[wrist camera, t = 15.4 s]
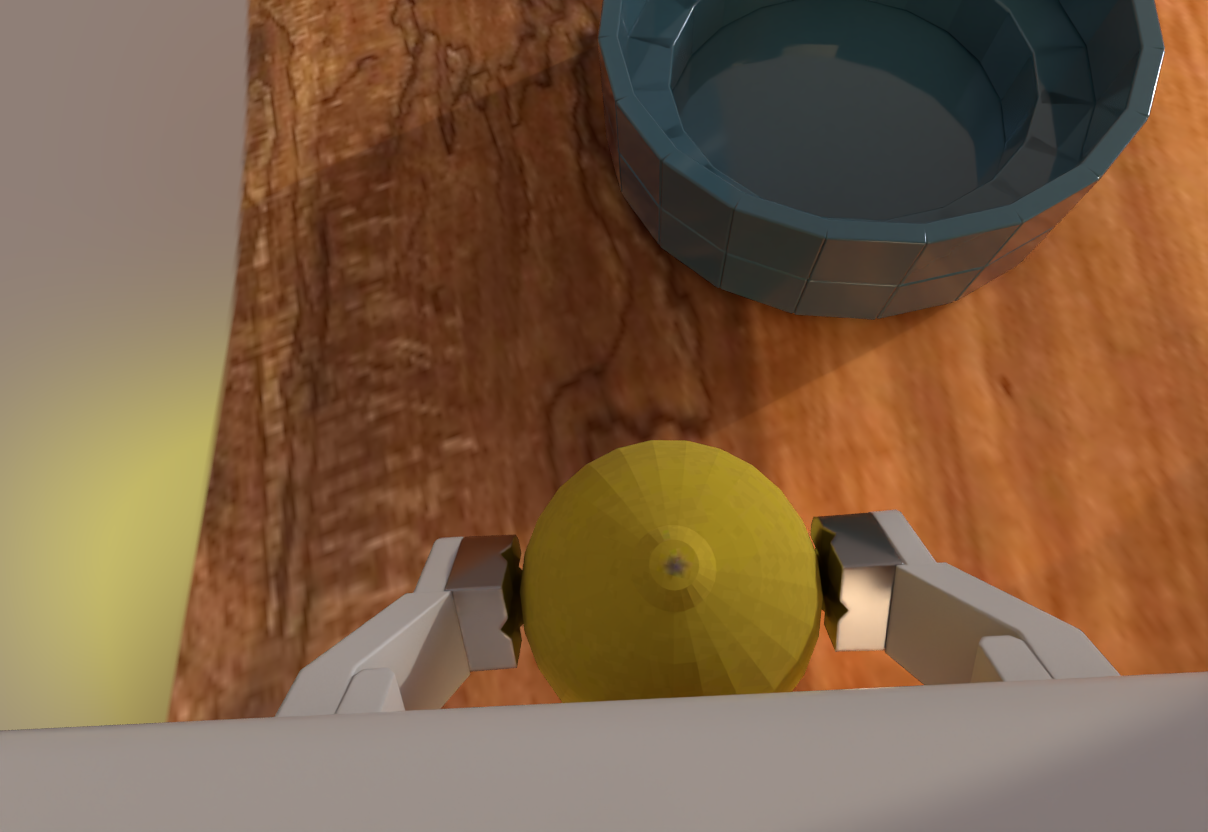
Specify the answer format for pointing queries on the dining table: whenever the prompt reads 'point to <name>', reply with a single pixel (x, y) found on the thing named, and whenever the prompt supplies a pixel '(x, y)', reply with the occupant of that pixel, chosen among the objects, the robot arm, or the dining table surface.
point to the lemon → (670, 579)
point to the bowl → (867, 136)
